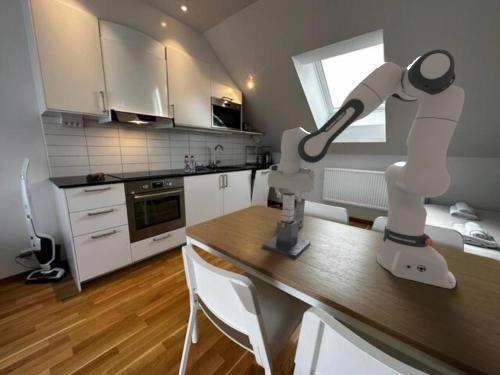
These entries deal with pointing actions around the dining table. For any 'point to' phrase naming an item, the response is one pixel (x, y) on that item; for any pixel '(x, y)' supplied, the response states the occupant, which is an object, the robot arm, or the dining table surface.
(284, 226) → the stand base
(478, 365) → the dining table surface
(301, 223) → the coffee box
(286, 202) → the column
